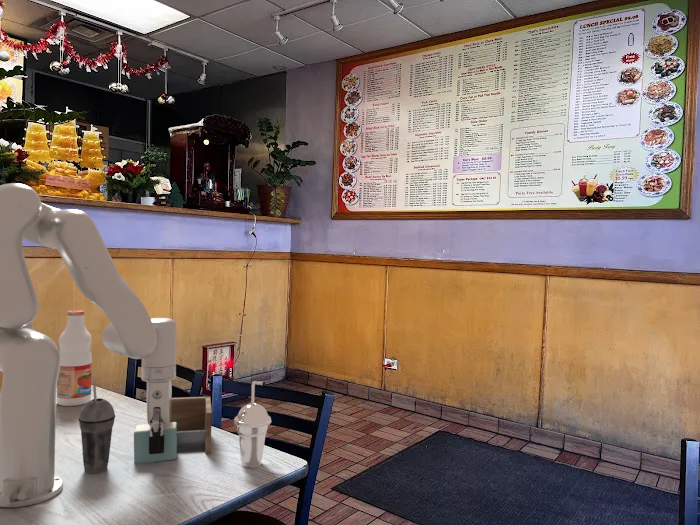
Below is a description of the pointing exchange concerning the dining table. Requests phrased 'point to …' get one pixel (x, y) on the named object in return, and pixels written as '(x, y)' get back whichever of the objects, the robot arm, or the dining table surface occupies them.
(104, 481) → the dining table surface
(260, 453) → the cup with straw
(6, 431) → the robot arm
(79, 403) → the fruit juice
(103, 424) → the beverage cup
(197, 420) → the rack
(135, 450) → the pale teal block
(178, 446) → the dark grey rectangular block
